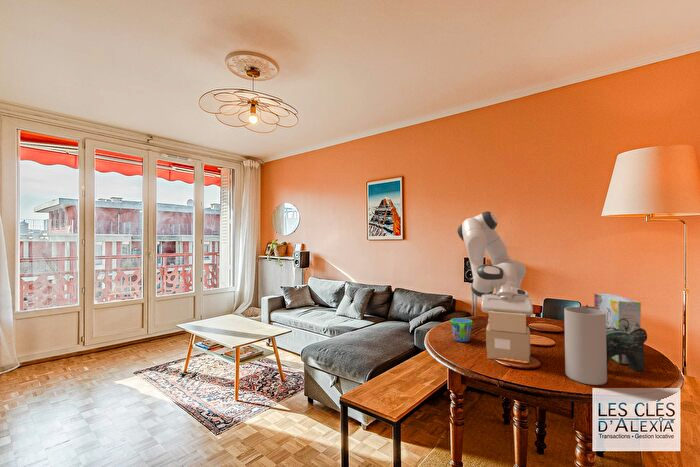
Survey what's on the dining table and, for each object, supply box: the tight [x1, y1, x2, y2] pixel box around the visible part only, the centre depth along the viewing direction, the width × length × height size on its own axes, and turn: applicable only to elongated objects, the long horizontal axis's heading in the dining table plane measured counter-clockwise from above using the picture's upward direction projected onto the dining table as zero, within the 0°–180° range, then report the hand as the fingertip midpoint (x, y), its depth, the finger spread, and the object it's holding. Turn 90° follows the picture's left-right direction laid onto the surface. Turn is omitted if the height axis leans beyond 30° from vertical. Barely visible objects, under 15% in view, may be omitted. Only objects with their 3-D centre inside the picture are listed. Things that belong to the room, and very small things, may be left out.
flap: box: [488, 311, 527, 334], centre depth 138 cm, size 9×14×1 cm
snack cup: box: [450, 317, 473, 343], centre depth 168 cm, size 16×10×10 cm
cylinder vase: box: [563, 306, 608, 386], centre depth 122 cm, size 12×12×25 cm
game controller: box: [606, 319, 648, 372], centre depth 129 cm, size 20×6×20 cm, turn 91°
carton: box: [485, 322, 531, 363], centre depth 146 cm, size 15×17×12 cm
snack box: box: [593, 292, 642, 365], centre depth 144 cm, size 22×9×26 cm, turn 166°
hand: (506, 321), depth 139 cm, fingers open, 8 cm apart
